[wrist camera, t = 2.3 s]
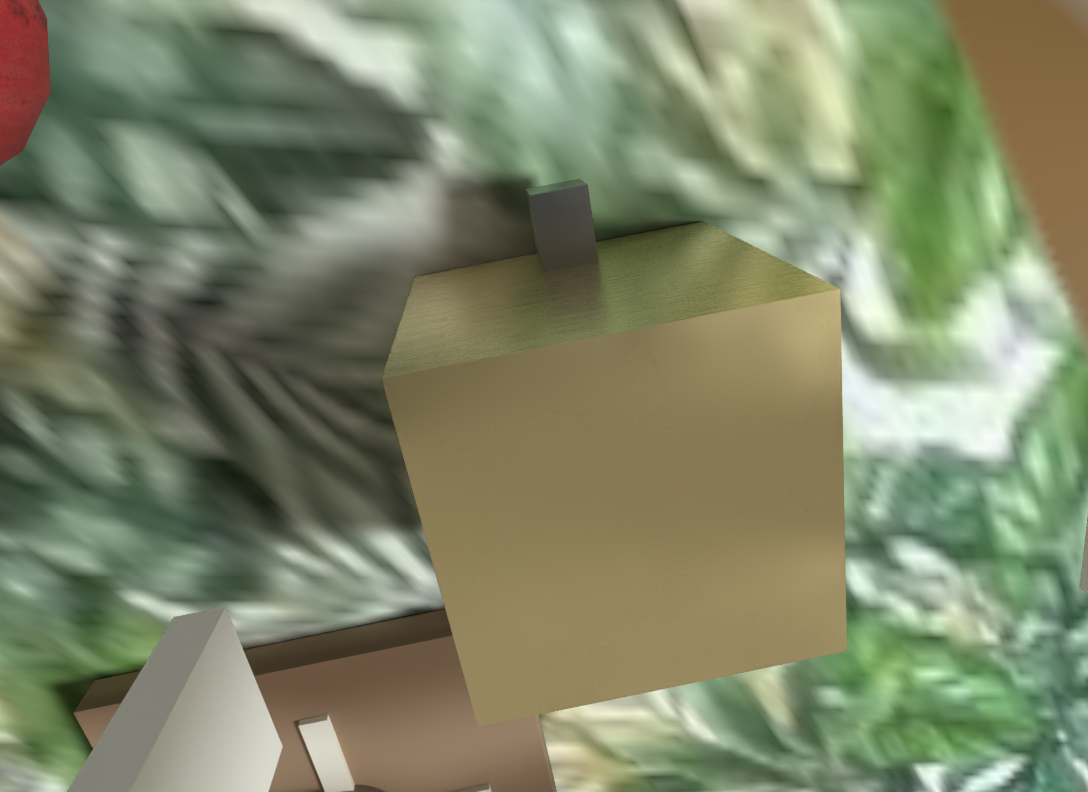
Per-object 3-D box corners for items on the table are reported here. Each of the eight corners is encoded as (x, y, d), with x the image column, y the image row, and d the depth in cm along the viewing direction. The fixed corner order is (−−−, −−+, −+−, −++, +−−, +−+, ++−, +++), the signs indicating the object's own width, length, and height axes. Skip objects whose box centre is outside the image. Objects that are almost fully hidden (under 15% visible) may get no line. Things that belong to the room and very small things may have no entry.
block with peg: (398, 209, 17) (352, 273, 10) (697, 152, 17) (837, 180, 10) (487, 573, 21) (495, 787, 14) (730, 524, 21) (848, 714, 14)
